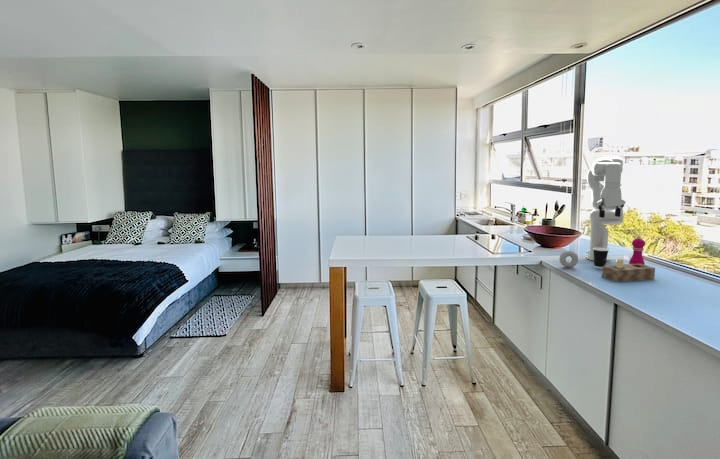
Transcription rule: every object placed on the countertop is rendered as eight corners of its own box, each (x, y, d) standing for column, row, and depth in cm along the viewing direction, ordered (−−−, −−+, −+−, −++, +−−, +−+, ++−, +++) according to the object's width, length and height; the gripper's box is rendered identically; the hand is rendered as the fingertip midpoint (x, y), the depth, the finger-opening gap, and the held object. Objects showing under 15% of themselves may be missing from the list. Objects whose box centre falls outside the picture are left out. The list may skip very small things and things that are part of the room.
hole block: (616, 281, 212) (617, 270, 211) (602, 276, 222) (602, 265, 221) (654, 279, 216) (655, 267, 215) (638, 274, 225) (639, 263, 224)
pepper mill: (646, 273, 226) (649, 237, 223) (631, 272, 228) (634, 237, 225) (640, 269, 233) (643, 234, 230) (626, 269, 235) (629, 234, 232)
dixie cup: (608, 269, 235) (609, 250, 233) (592, 268, 238) (593, 249, 237) (606, 266, 242) (607, 247, 241) (590, 265, 246) (592, 247, 244)
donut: (576, 267, 242) (578, 250, 241) (578, 268, 239) (579, 251, 237) (558, 266, 245) (559, 249, 243) (559, 267, 241) (560, 251, 240)
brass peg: (613, 277, 219) (615, 259, 218) (618, 277, 220) (620, 259, 218) (618, 279, 216) (619, 260, 215) (623, 279, 217) (624, 260, 215)
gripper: (620, 185, 232) (618, 215, 234) (592, 186, 229) (590, 216, 232) (631, 185, 224) (628, 217, 227) (602, 186, 222) (600, 218, 225)
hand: (609, 217), depth 229 cm, fingers open, 9 cm apart
